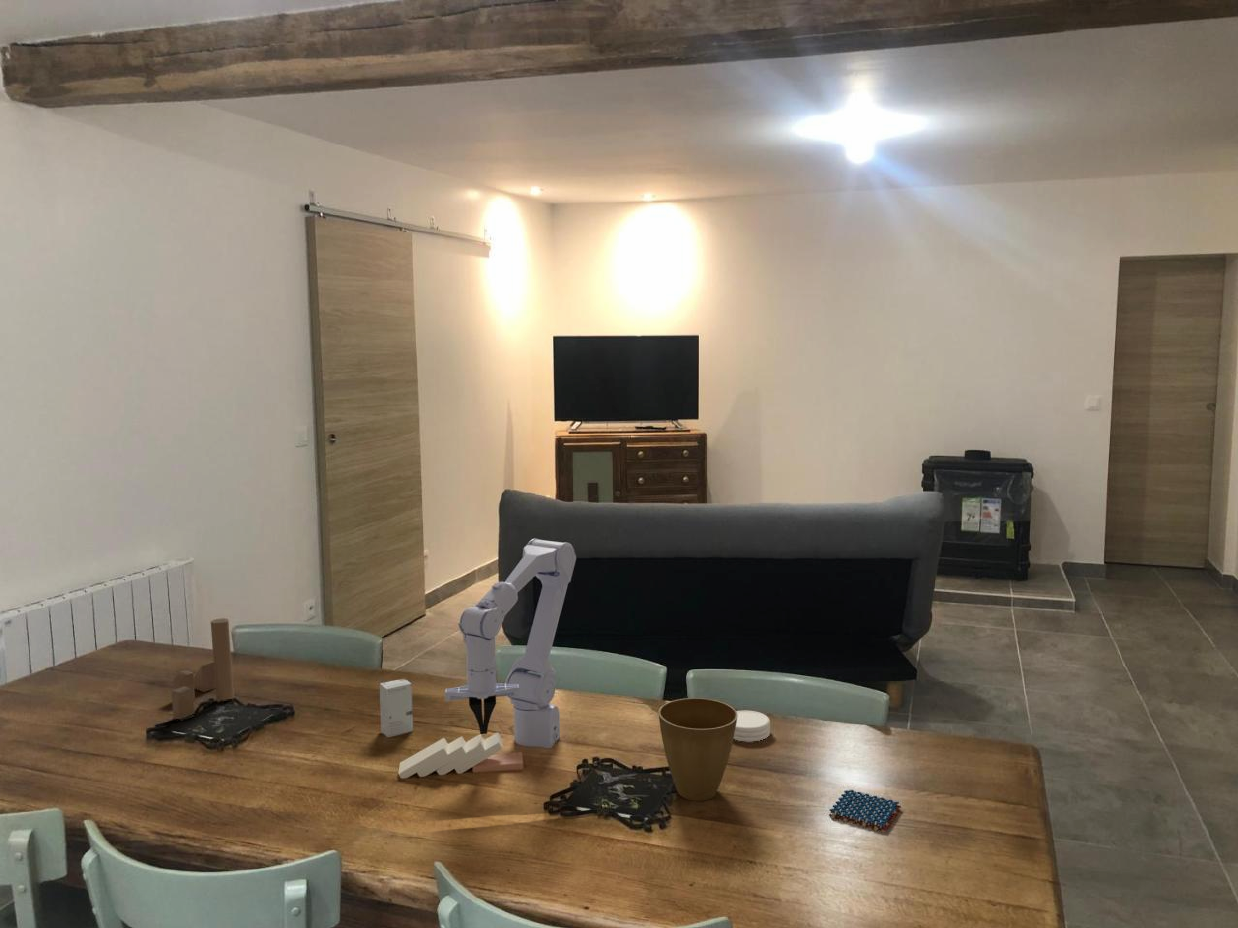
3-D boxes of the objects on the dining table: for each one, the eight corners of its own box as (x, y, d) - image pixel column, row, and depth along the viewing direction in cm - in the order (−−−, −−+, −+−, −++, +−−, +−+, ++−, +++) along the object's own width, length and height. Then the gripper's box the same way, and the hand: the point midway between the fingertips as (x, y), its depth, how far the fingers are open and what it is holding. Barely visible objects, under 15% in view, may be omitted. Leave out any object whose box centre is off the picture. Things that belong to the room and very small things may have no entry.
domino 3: (441, 765, 189) (484, 739, 189) (440, 776, 184) (484, 750, 184) (437, 759, 188) (480, 733, 189) (436, 770, 183) (480, 743, 184)
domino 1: (404, 768, 187) (448, 743, 188) (402, 780, 182) (447, 754, 183) (400, 762, 187) (444, 737, 188) (398, 773, 182) (443, 748, 183)
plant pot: (685, 818, 168) (684, 734, 166) (645, 784, 181) (644, 706, 179) (752, 799, 175) (753, 718, 173) (709, 767, 188) (709, 691, 186)
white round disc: (718, 739, 201) (718, 724, 201) (731, 721, 211) (731, 706, 210) (764, 746, 198) (764, 730, 197) (774, 728, 207) (774, 712, 206)
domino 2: (422, 767, 188) (465, 742, 189) (420, 778, 183) (465, 752, 184) (418, 760, 188) (461, 735, 188) (416, 772, 183) (461, 746, 183)
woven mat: (886, 836, 162) (886, 825, 162) (827, 820, 168) (827, 810, 167) (902, 810, 171) (903, 800, 171) (846, 796, 176) (846, 786, 176)
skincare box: (387, 743, 201) (385, 689, 200) (380, 735, 205) (378, 683, 203) (414, 736, 205) (412, 683, 203) (407, 729, 208) (405, 677, 207)
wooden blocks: (201, 682, 239) (195, 607, 236) (247, 698, 228) (241, 619, 225) (135, 704, 225) (128, 624, 222) (181, 722, 214) (174, 638, 211)
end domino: (472, 763, 189) (522, 759, 191) (472, 774, 184) (523, 770, 186) (472, 755, 189) (521, 751, 191) (472, 766, 184) (523, 762, 186)
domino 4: (458, 763, 189) (501, 738, 190) (458, 774, 184) (502, 748, 185) (454, 757, 189) (497, 731, 190) (454, 768, 184) (498, 742, 185)
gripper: (443, 676, 179) (446, 743, 181) (519, 671, 182) (521, 737, 183) (444, 663, 186) (447, 728, 188) (517, 659, 188) (519, 722, 190)
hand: (483, 731), depth 186 cm, fingers closed
